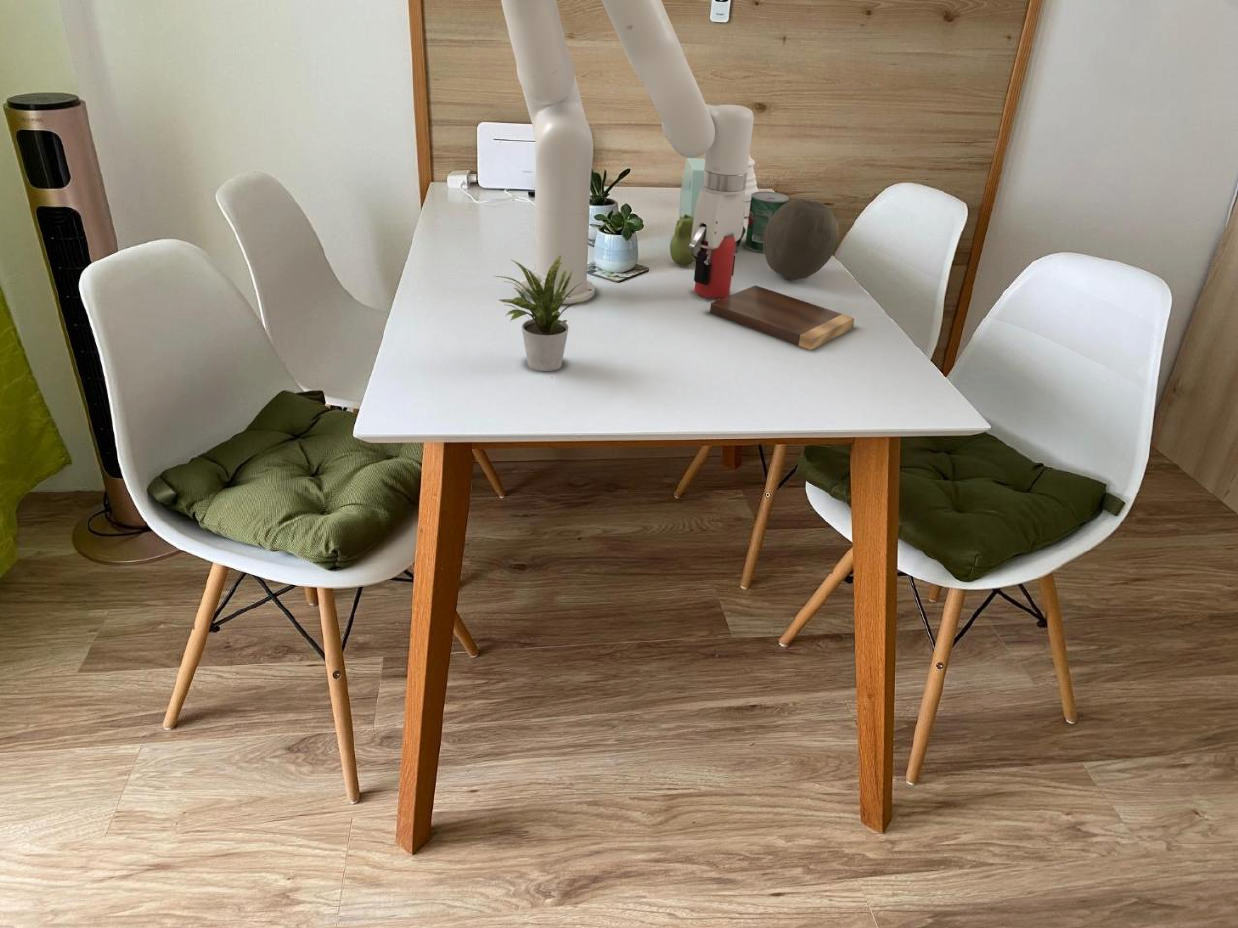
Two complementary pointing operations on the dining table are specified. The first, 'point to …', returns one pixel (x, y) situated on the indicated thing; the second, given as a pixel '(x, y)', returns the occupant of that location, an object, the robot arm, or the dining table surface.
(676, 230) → the pear
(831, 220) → the brown coconut
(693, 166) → the pale green tall block
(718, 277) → the beer can
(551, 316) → the house plant
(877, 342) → the dining table surface
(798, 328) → the cutting board
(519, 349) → the dining table surface
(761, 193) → the canned tomato
